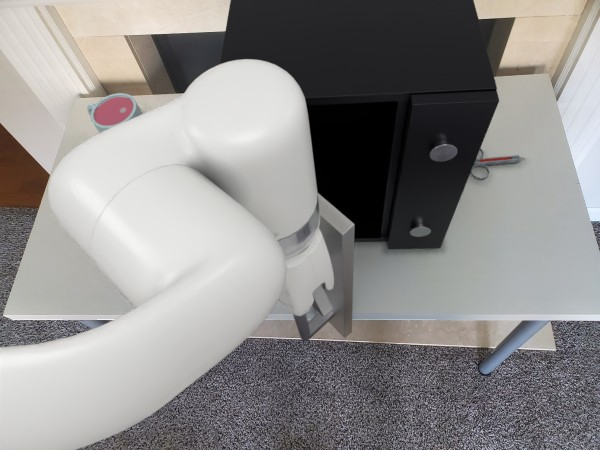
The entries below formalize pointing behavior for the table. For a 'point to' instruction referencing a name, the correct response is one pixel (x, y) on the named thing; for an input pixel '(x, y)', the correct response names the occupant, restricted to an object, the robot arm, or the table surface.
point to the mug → (113, 111)
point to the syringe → (494, 162)
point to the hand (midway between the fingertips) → (296, 293)
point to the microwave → (381, 103)
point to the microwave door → (334, 273)
